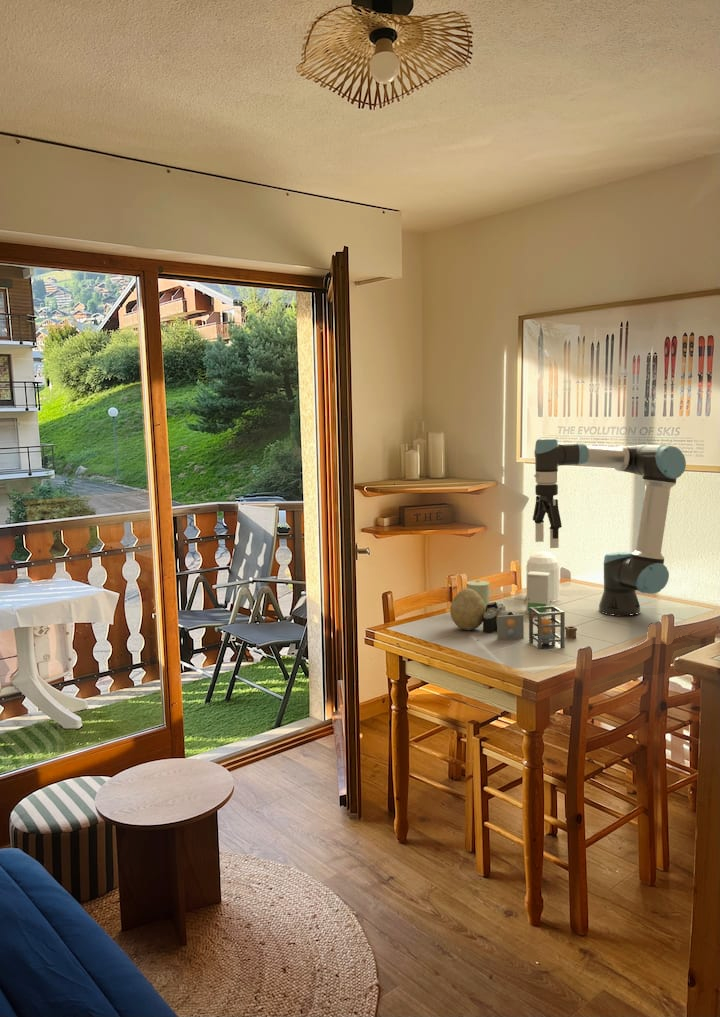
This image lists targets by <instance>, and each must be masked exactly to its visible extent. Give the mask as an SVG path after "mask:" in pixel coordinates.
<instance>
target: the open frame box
mask: <svg viewBox="0 0 720 1017" xmlns="http://www.w3.org/2000/svg"><path fill="white" fill-rule="evenodd" d="M543 609H549V610H551V611H549V612H548V613H539V612H538V611H536V610H543ZM533 612H534V613H535V615H537V618H534V614H533ZM565 614H566V613H565V611H564V610H561V609H560V608H559V607H557V606H555V605H550V606H544V607H529V613H528V628H529V629H528V631H529V632H528V637H529V638H528V640H529V641H528V642H529V643H530V644H531V645H532V646H533V647H535V648H536V649H537V650H538V651H539V650H552V649H553V650H554V649H565V646H566V643H565V642H566V641H565V639H566V629H565V627H566V626H565V625H566V623H565V621H566V619H565V617H566V616H565ZM545 616H546V618H547V619H549V620H550V621H551V622H552V624H548V625H542V618H543V617H545ZM547 616H551V617H547ZM556 616H559V617H560V620H559V619H557V618H556ZM534 626H535V627H536V628H537V627H538V628H537V633H535V632H534ZM548 627H552V630H551V632H552V633H553V639H547V640H542V628H548ZM558 627H560V635H559V634H558V633H556V628H558ZM534 640H535V641H534ZM548 642H551V643H549V644H543V643H548Z"/></svg>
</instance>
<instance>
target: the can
mask: <svg viewBox="0 0 720 1017" xmlns="http://www.w3.org/2000/svg"><path fill="white" fill-rule="evenodd" d="M490 583H491V582H490V581H487V580H469V581H467V582H466V589H472V590H474V591H476V592H477V593H478V594H479V595H480V596H481V598H482V599H483V601H484V604H485V607H486V606H487V604H489V603H490V602H491V596H490V595H491V591H490V590H491V587H490V586H491V584H490Z"/></svg>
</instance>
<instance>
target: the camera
mask: <svg viewBox="0 0 720 1017" xmlns="http://www.w3.org/2000/svg"><path fill="white" fill-rule="evenodd" d="M505 615H514V613H513V612H512V611H509V610H508V611H507V610H506V605H504V604H503V603H498V602H496V601H490V603H489V604H487V606H486V612H484V617H483V622H482V632H483V634H484V633H485V634H493V633H494V632H497V616H505Z"/></svg>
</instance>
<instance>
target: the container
mask: <svg viewBox="0 0 720 1017" xmlns="http://www.w3.org/2000/svg"><path fill="white" fill-rule="evenodd" d="M525 571H526V575H527V574H528V573H529V572H530V571H535V572H546V573H550V601H553V600H557V599H558V598H559V599H560V564H559V561H558V559H557V557H556V556H555V555H554V554H552V553H551V552H549V551H545V550H544V551H536V552H535V553H533V554H531V555H530V557H529V558H528V560H527V564H526V570H525Z"/></svg>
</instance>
